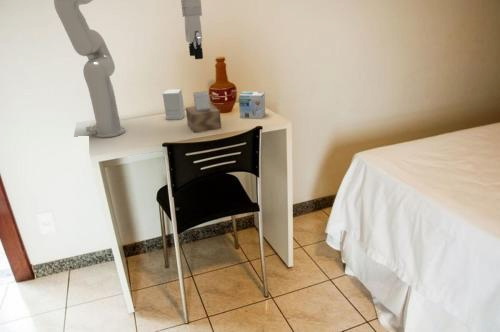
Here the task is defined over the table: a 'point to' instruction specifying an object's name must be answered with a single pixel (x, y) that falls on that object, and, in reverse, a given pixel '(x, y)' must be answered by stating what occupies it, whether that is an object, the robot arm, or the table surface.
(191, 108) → the walnut block
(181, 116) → the supplement box
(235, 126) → the table surface
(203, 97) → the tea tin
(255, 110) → the light bulb box
